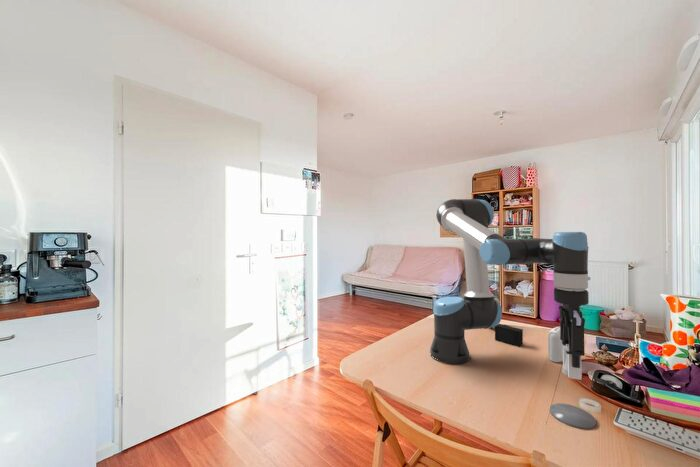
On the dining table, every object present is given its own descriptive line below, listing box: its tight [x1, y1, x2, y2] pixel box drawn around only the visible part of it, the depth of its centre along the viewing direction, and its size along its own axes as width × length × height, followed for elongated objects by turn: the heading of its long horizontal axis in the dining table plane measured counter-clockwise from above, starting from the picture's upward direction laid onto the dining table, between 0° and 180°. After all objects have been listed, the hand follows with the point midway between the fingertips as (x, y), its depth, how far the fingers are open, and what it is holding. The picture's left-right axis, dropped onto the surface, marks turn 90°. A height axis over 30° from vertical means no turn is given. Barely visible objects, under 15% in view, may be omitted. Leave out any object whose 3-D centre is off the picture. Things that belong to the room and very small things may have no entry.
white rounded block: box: [547, 326, 564, 363], centre depth 115 cm, size 10×4×12 cm, turn 123°
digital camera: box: [494, 323, 524, 348], centre depth 132 cm, size 10×5×7 cm, turn 38°
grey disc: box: [549, 402, 597, 430], centre depth 80 cm, size 10×10×1 cm
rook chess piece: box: [561, 344, 569, 377], centre depth 79 cm, size 4×4×8 cm
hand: (571, 373), depth 79 cm, fingers closed on rook chess piece, 4 cm apart
